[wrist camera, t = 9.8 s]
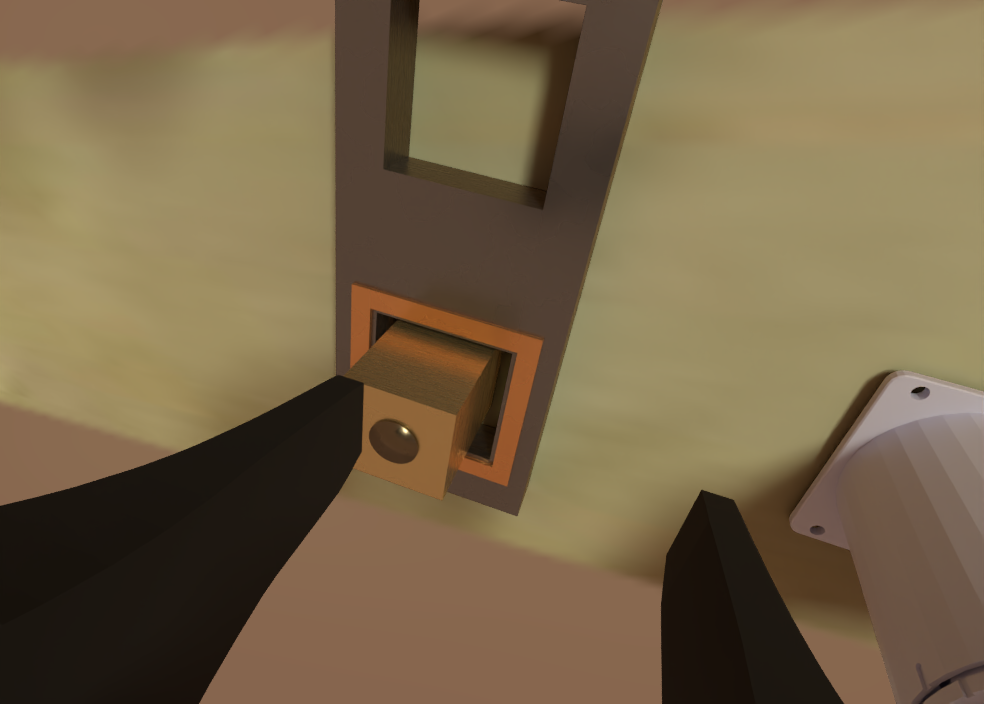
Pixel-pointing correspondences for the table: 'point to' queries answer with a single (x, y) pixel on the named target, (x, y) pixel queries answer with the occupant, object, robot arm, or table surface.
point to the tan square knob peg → (422, 404)
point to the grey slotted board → (475, 221)
